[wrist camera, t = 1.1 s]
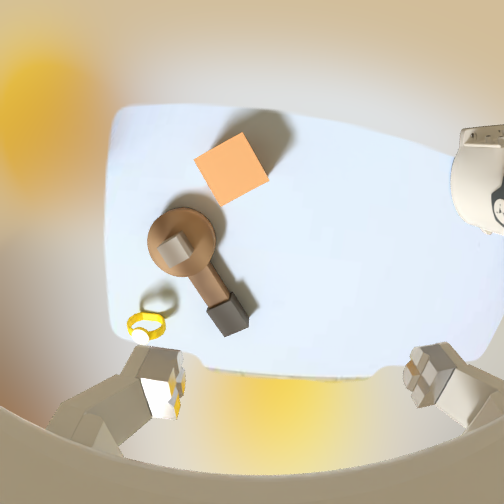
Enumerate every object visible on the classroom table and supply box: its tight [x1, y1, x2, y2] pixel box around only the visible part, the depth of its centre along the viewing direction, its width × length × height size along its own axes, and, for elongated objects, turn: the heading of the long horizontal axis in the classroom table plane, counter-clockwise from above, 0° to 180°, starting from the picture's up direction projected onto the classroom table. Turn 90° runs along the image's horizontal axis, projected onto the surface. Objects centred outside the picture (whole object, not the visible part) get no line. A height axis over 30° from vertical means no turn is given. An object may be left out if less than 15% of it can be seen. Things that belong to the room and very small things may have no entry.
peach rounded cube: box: [194, 132, 269, 207], centre depth 32 cm, size 6×6×6 cm
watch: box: [127, 312, 166, 344], centre depth 40 cm, size 6×3×6 cm, turn 85°
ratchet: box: [147, 207, 249, 337], centre depth 37 cm, size 9×20×6 cm, turn 29°
